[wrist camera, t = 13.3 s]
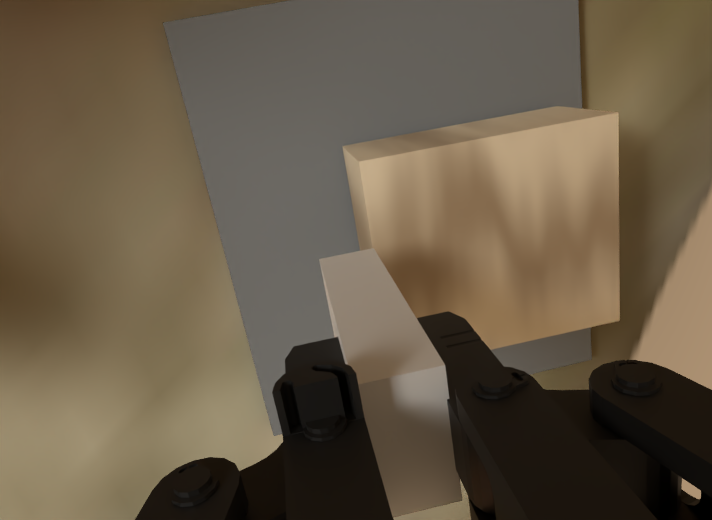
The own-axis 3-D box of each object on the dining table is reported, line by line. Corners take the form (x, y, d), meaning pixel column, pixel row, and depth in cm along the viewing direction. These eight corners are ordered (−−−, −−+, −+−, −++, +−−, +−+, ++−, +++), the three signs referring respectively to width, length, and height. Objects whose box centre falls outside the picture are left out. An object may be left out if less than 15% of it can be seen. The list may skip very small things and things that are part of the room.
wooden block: (358, 161, 16) (618, 112, 17) (341, 145, 20) (554, 105, 21) (392, 371, 18) (619, 320, 19) (371, 321, 22) (561, 280, 23)
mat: (166, 24, 18) (162, 22, 18) (567, -47, 20) (576, -50, 19) (273, 427, 24) (273, 436, 23) (584, 353, 25) (591, 359, 24)
